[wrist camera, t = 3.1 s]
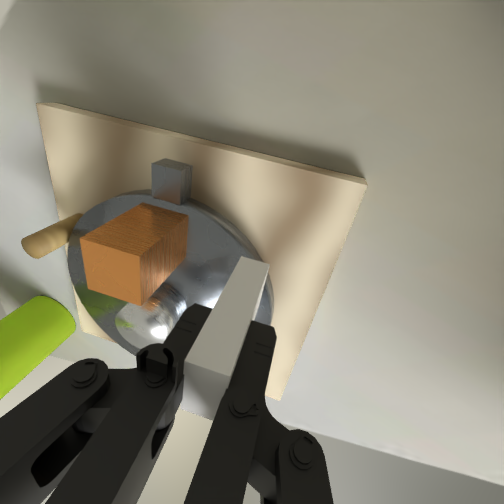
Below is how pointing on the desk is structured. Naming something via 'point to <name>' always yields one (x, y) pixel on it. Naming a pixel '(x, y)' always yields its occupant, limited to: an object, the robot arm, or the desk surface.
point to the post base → (216, 197)
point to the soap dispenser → (31, 338)
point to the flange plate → (190, 272)
